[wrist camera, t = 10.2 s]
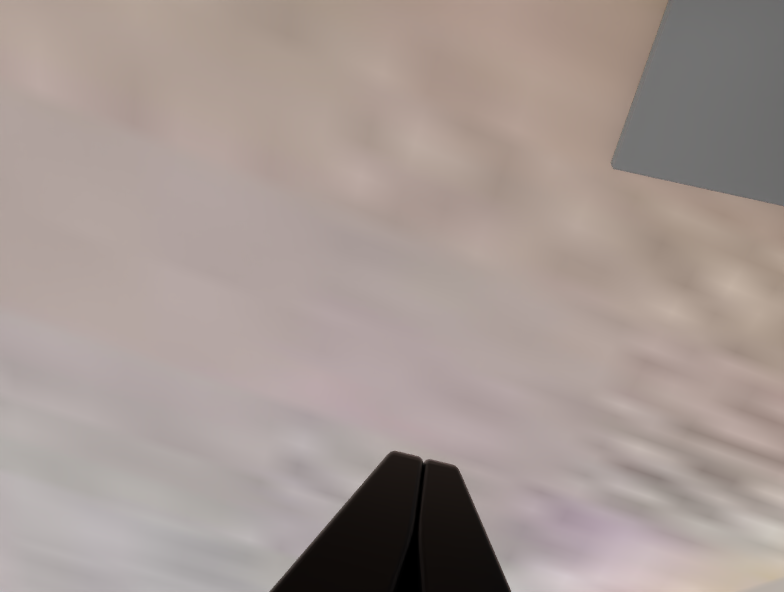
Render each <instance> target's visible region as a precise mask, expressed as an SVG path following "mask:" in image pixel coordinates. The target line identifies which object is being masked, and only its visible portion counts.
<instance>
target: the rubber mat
mask: <svg viewBox="0 0 784 592" xmlns="http://www.w3.org/2000/svg"><path fill="white" fill-rule="evenodd" d="M611 165H612V167H613V169H617V170H621V171H626V172H630V173H635V174H640V175H644V176H649V177H653V178H658V179H662V180H667V181H671V182H676V183H681V184H685V185H690V186H694V187H699V188H703V189H708V190H713V191H717V192H722V193H726V194H731V195H735V196H740V197H744V198H749V199H754V200H758V201H763V202H767V203H772V204H776V205H781V206H784V0H669V1H668V4H667V7H666V10H665V13H664V15H663V18H662V21H661V24H660V27H659V29H658V32H657V35H656V38H655V41H654V43H653V46H652V49H651V52H650V55H649V57H648V60H647V63H646V66H645V69H644V72H643V74H642V77H641V80H640V83H639V86H638V88H637V91H636V94H635V97H634V100H633V102H632V105H631V108H630V111H629V114H628V116H627V119H626V122H625V125H624V128H623V130H622V133H621V136H620V139H619V142H618V144H617V147H616V150H615V153H614V156H613V158H612V161H611Z"/></svg>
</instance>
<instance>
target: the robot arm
mask: <svg viewBox="0 0 784 592" xmlns="http://www.w3.org/2000/svg"><path fill="white" fill-rule="evenodd" d="M270 592H511V590H510V587H509V585H508V583H507V580H506V578H505V576H504V573H503V571H502V569H501V566H500V564H499V562H498V559H497V557H496V555H495V552H494V550H493V548H492V545H491V543H490V541H489V538H488V536H487V534H486V531H485V529H484V527H483V524H482V522H481V520H480V517H479V515H478V513H477V510H476V508H475V506H474V503H473V501H472V499H471V496H470V494H469V492H468V489H467V487H466V485H465V482H464V480H463V478H462V475H461V473H460V471H459V469H458V468H457V467H456V466H455V465H452V464H448V463H443V462H439V461H435V460H431V459H428V460H426V461H425V462H424V463H423V461H422V459H421V458H420V457H418V456H415V455H411V454H406V453H402V452H398V451H392V452H390V453H389V454H388V455H387V456H386V457H385V458H384V459H383V460H382V462H381V463H380V464H379V465H378V466H377V467H376V469H375V470H374V471H373V472H372V473H371V474H370V476H369V477H368V478H367V479H366V480H365V481H364V483H363V484H362V485H361V486H360V487H359V488H358V490H357V491H356V492H355V493H354V494H353V495H352V496H351V498H350V499H349V500H348V501H347V502H346V503H345V505H344V506H343V507H342V508H341V509H340V510H339V512H338V513H337V514H336V515H335V516H334V517H333V519H332V520H331V521H330V522H329V523H328V524H327V526H326V527H325V528H324V529H323V530H322V531H321V533H320V534H319V535H318V536H317V537H316V538H315V539H314V541H313V542H312V543H311V544H310V545H309V546H308V548H307V549H306V550H305V551H304V552H303V553H302V555H301V556H300V557H299V558H298V559H297V560H296V562H295V563H294V564H293V565H292V566H291V567H290V569H289V570H288V571H287V572H286V573H285V574H284V576H283V577H282V578H281V579H280V580H279V581H278V582H277V584H276V585H275V586H274V587H273V588H272V589H271V591H270Z"/></svg>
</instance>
